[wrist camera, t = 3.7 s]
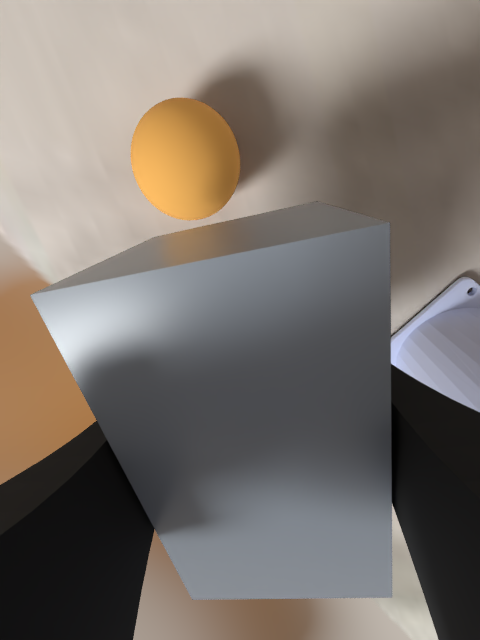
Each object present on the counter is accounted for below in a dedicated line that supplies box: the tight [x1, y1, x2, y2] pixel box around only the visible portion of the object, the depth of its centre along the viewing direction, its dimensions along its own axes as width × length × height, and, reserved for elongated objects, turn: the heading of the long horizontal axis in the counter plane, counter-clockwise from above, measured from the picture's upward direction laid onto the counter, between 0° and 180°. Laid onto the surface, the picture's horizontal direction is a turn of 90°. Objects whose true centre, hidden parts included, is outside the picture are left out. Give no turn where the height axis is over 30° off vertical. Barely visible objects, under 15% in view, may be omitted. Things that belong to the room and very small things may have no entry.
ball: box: [131, 98, 240, 220], centre depth 14 cm, size 5×5×5 cm
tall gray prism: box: [30, 201, 392, 600], centre depth 10 cm, size 10×6×6 cm, turn 12°
